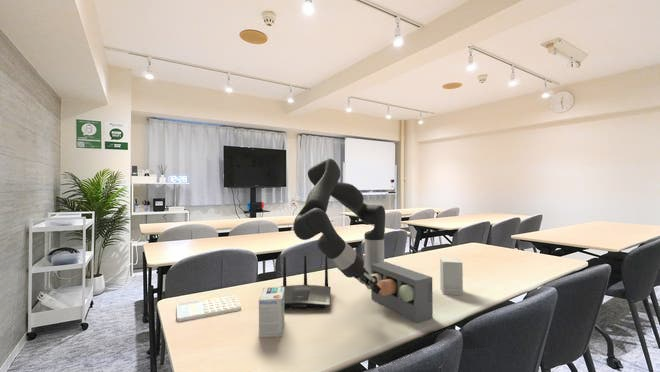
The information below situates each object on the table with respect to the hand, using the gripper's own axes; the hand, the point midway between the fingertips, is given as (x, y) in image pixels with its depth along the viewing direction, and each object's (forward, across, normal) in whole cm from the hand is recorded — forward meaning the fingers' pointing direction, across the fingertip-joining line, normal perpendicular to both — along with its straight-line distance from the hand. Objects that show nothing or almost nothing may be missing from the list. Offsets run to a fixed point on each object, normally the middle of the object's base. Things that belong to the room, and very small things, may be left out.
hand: (377, 291), depth 99 cm
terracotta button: (+5, -1, +2) cm, 6 cm away
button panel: (+13, -1, +1) cm, 13 cm away
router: (-6, -24, -17) cm, 30 cm away
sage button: (+7, +7, +4) cm, 11 cm away
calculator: (-28, -34, -39) cm, 59 cm away
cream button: (+5, -8, +2) cm, 10 cm away
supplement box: (+33, -2, +21) cm, 40 cm away
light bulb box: (-18, -8, -29) cm, 35 cm away
